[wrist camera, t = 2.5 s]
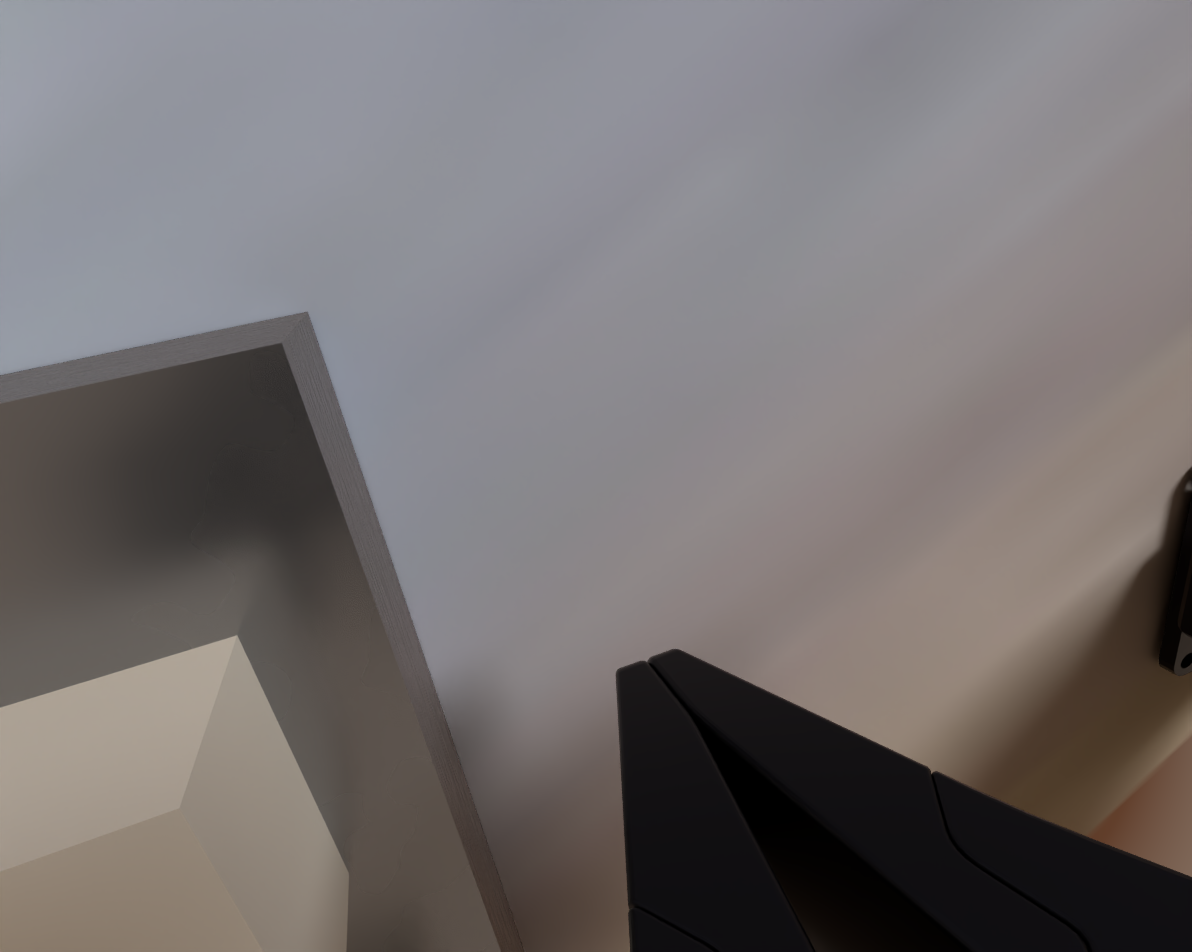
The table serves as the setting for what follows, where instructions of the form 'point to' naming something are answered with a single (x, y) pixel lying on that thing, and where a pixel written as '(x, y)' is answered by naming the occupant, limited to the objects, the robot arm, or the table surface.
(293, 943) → the tile
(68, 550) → the plate
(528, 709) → the table surface
